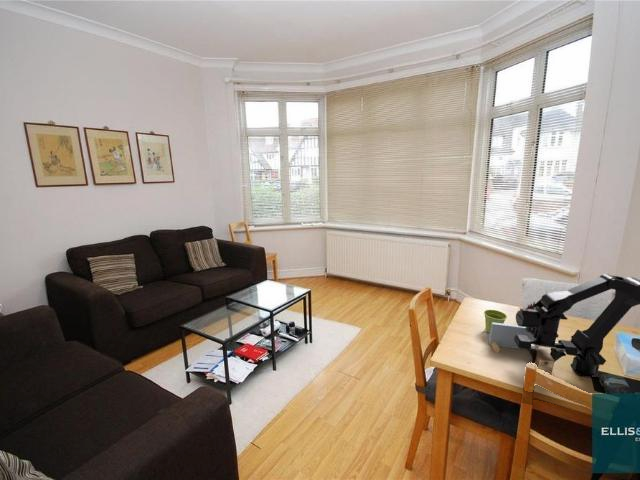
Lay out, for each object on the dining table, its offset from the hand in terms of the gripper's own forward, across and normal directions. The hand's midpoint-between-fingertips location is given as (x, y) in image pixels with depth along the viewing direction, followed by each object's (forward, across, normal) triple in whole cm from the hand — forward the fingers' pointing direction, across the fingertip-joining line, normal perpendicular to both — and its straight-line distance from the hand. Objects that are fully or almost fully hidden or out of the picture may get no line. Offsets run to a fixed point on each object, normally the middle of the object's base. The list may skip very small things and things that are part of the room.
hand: (540, 363), depth 117 cm
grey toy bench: (+2, +6, -9) cm, 11 cm away
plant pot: (+2, +11, -24) cm, 26 cm away
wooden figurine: (+2, -5, -28) cm, 29 cm away
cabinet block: (+2, 0, 0) cm, 2 cm away
